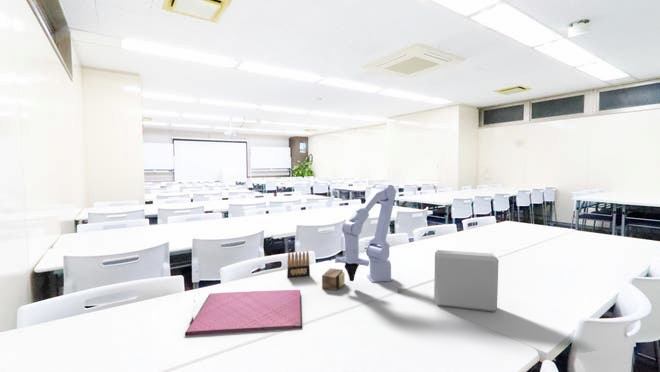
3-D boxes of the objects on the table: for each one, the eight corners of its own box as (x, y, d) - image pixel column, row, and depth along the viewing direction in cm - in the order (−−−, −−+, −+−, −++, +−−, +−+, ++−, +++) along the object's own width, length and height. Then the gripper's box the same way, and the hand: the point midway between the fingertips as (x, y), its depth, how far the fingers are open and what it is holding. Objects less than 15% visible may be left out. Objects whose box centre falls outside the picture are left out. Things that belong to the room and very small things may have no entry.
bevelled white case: (492, 304, 114) (493, 251, 113) (498, 313, 107) (499, 258, 106) (433, 297, 120) (434, 248, 119) (435, 306, 112) (435, 253, 111)
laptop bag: (300, 285, 124) (302, 319, 97) (300, 295, 125) (302, 331, 98) (199, 289, 120) (171, 326, 93) (199, 299, 120) (171, 339, 93)
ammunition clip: (287, 278, 143) (287, 253, 142) (287, 276, 144) (286, 251, 144) (309, 276, 145) (309, 251, 144) (309, 274, 147) (309, 250, 146)
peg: (344, 283, 134) (344, 272, 134) (340, 287, 129) (340, 276, 129) (328, 281, 137) (328, 270, 136) (324, 285, 132) (324, 274, 132)
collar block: (343, 282, 137) (343, 269, 136) (336, 290, 127) (336, 277, 127) (330, 280, 139) (330, 268, 139) (322, 288, 130) (322, 275, 129)
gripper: (332, 250, 128) (332, 281, 129) (366, 253, 123) (366, 285, 124) (338, 245, 135) (338, 275, 136) (370, 248, 130) (370, 279, 130)
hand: (351, 280), depth 130 cm, fingers closed
